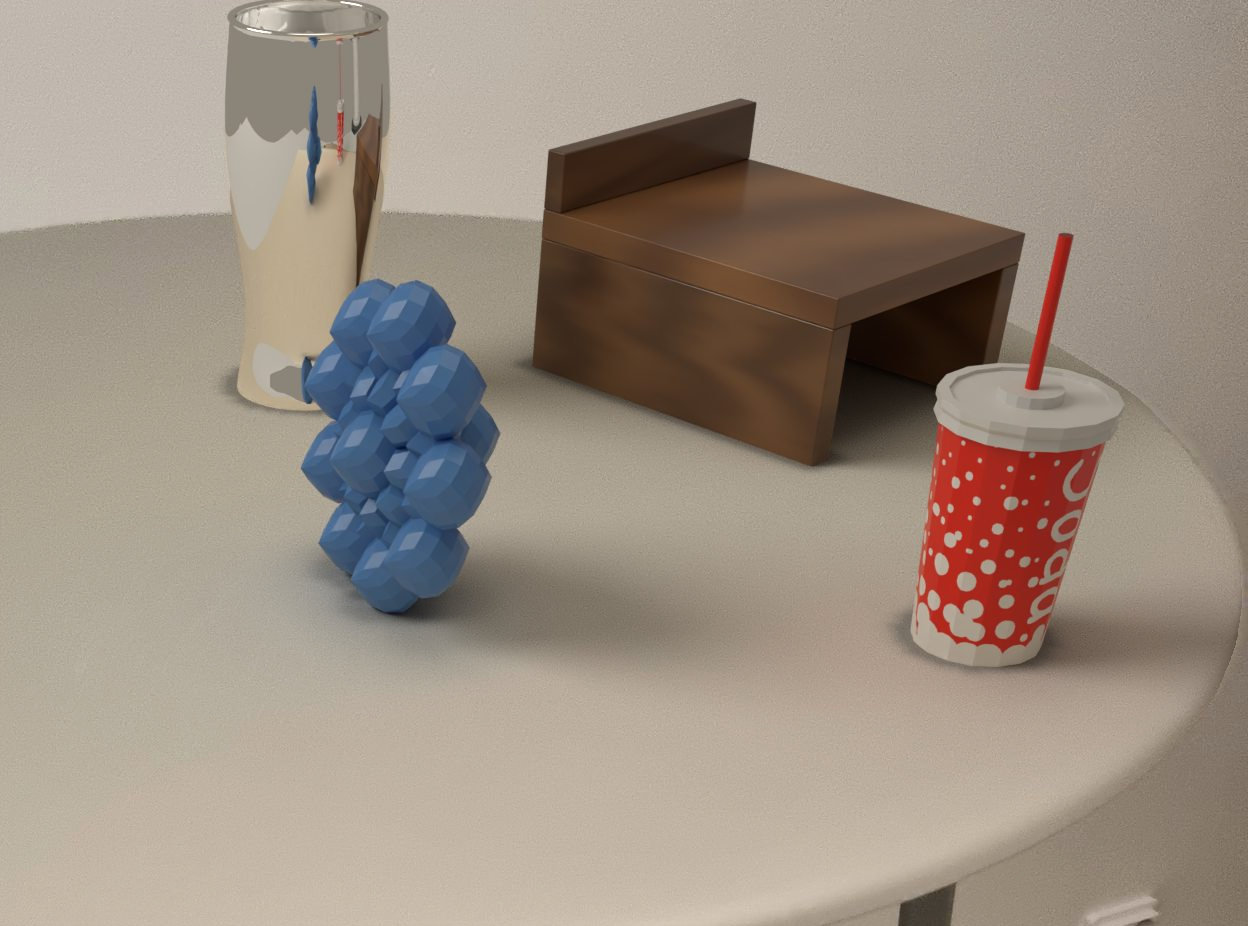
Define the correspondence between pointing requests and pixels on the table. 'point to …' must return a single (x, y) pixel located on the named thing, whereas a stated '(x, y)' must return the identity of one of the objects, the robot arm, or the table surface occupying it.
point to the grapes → (398, 443)
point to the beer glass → (303, 176)
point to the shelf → (751, 281)
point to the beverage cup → (1007, 497)
